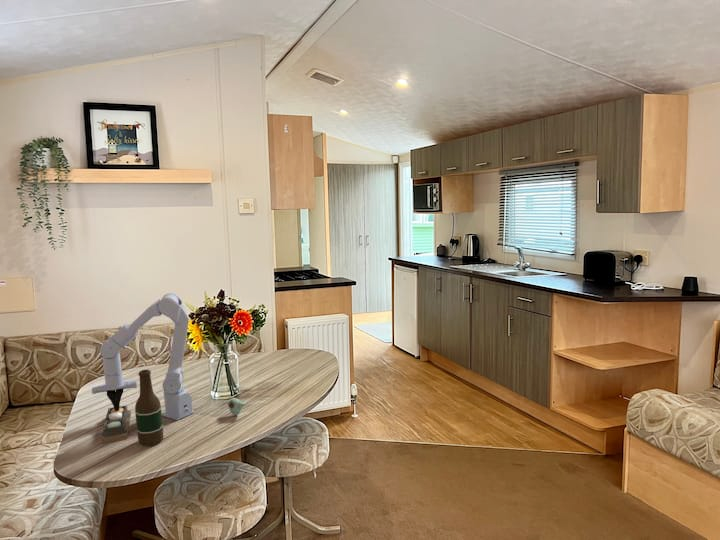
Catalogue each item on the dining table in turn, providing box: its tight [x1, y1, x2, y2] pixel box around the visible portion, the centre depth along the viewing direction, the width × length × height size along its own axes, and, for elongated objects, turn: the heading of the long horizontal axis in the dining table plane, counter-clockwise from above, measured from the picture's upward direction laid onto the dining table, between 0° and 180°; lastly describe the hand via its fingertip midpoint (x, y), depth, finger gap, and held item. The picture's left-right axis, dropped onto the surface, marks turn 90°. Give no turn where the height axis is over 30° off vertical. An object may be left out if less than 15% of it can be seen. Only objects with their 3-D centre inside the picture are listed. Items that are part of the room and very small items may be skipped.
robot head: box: [226, 397, 246, 416], centre depth 195 cm, size 8×4×7 cm, turn 62°
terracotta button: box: [111, 408, 124, 413], centre depth 194 cm, size 4×4×2 cm
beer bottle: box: [134, 369, 164, 447], centre depth 176 cm, size 8×8×24 cm
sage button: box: [107, 422, 121, 428], centre depth 182 cm, size 4×4×2 cm
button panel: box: [100, 404, 132, 444], centre depth 189 cm, size 22×8×4 cm, turn 20°
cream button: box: [109, 412, 122, 421], centre depth 188 cm, size 4×4×2 cm
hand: (117, 409), depth 194 cm, fingers closed
